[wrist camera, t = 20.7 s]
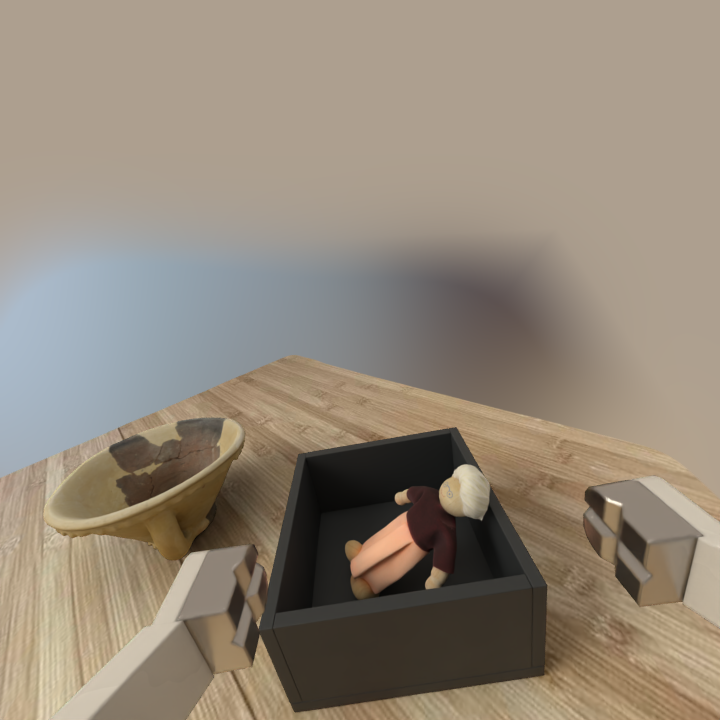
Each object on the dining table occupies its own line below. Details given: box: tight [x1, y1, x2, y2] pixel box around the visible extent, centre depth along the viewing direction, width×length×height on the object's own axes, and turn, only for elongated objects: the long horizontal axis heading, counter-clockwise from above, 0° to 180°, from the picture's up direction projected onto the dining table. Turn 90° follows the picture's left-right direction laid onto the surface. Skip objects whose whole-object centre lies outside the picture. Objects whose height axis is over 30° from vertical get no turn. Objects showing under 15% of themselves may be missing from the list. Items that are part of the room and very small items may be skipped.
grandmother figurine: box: [345, 464, 490, 600], centre depth 24 cm, size 8×4×13 cm
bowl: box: [43, 418, 245, 560], centre depth 36 cm, size 18×18×10 cm
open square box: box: [259, 427, 547, 712], centre depth 26 cm, size 16×16×8 cm
